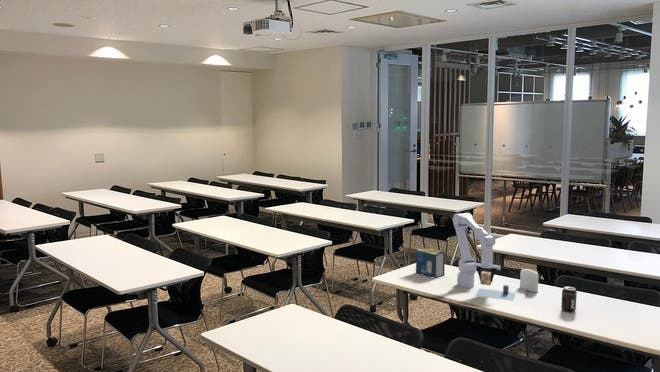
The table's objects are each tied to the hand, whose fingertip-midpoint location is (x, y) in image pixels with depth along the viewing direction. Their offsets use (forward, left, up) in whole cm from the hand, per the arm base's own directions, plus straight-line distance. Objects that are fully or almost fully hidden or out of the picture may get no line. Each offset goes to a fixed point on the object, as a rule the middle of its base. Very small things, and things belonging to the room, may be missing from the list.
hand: (486, 280), depth 290 cm
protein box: (-39, +31, -9) cm, 51 cm away
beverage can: (+42, -5, -9) cm, 43 cm away
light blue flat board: (+5, +3, -9) cm, 11 cm away
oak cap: (0, 0, -1) cm, 1 cm away
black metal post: (+10, +6, -8) cm, 14 cm away
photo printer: (+21, +22, -9) cm, 32 cm away
